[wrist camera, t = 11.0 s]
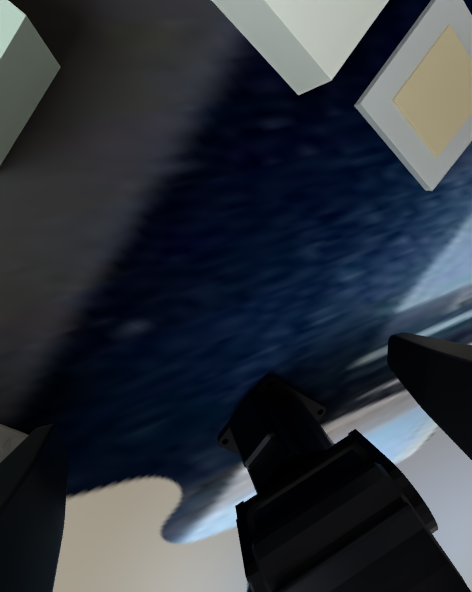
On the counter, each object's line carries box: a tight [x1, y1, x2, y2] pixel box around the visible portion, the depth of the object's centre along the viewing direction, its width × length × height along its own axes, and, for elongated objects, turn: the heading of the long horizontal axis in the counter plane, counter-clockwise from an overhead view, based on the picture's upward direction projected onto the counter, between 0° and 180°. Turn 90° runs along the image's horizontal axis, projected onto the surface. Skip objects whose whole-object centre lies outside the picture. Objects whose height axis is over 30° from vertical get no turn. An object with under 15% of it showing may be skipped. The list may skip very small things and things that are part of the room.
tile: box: [354, 0, 472, 191], centre depth 21 cm, size 8×8×1 cm
